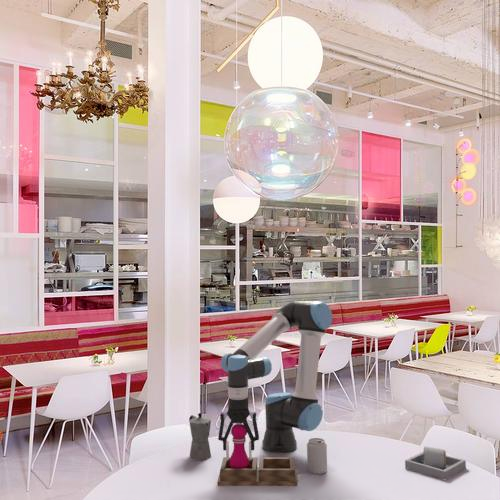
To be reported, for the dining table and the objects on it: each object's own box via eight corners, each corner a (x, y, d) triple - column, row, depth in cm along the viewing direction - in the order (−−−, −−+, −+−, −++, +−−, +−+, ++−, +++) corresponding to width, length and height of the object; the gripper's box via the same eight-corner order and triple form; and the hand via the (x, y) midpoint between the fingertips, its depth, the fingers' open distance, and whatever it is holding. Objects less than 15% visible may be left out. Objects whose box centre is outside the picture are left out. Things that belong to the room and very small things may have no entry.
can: (323, 476, 197) (323, 444, 198) (304, 473, 200) (304, 441, 201) (329, 469, 204) (328, 438, 204) (311, 466, 207) (310, 435, 208)
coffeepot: (218, 458, 217) (217, 414, 218) (198, 463, 212) (197, 418, 213) (199, 448, 230) (199, 407, 231) (180, 453, 225) (180, 410, 225)
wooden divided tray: (296, 471, 202) (295, 456, 203) (297, 486, 188) (297, 470, 189) (221, 471, 204) (221, 456, 204) (217, 486, 190) (217, 470, 190)
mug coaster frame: (426, 457, 215) (426, 450, 215) (465, 468, 203) (465, 460, 203) (405, 468, 204) (405, 460, 204) (445, 480, 192) (445, 471, 192)
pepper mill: (246, 478, 192) (246, 423, 193) (227, 477, 194) (227, 422, 194) (250, 471, 199) (250, 418, 200) (232, 469, 201) (232, 417, 201)
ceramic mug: (446, 471, 200) (446, 451, 200) (424, 470, 202) (423, 449, 202) (444, 462, 210) (443, 443, 211) (422, 460, 212) (422, 441, 213)
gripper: (209, 400, 194) (210, 462, 193) (265, 399, 193) (266, 462, 192) (211, 395, 202) (212, 455, 201) (265, 395, 201) (266, 455, 200)
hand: (238, 458), depth 197 cm, fingers open, 8 cm apart
